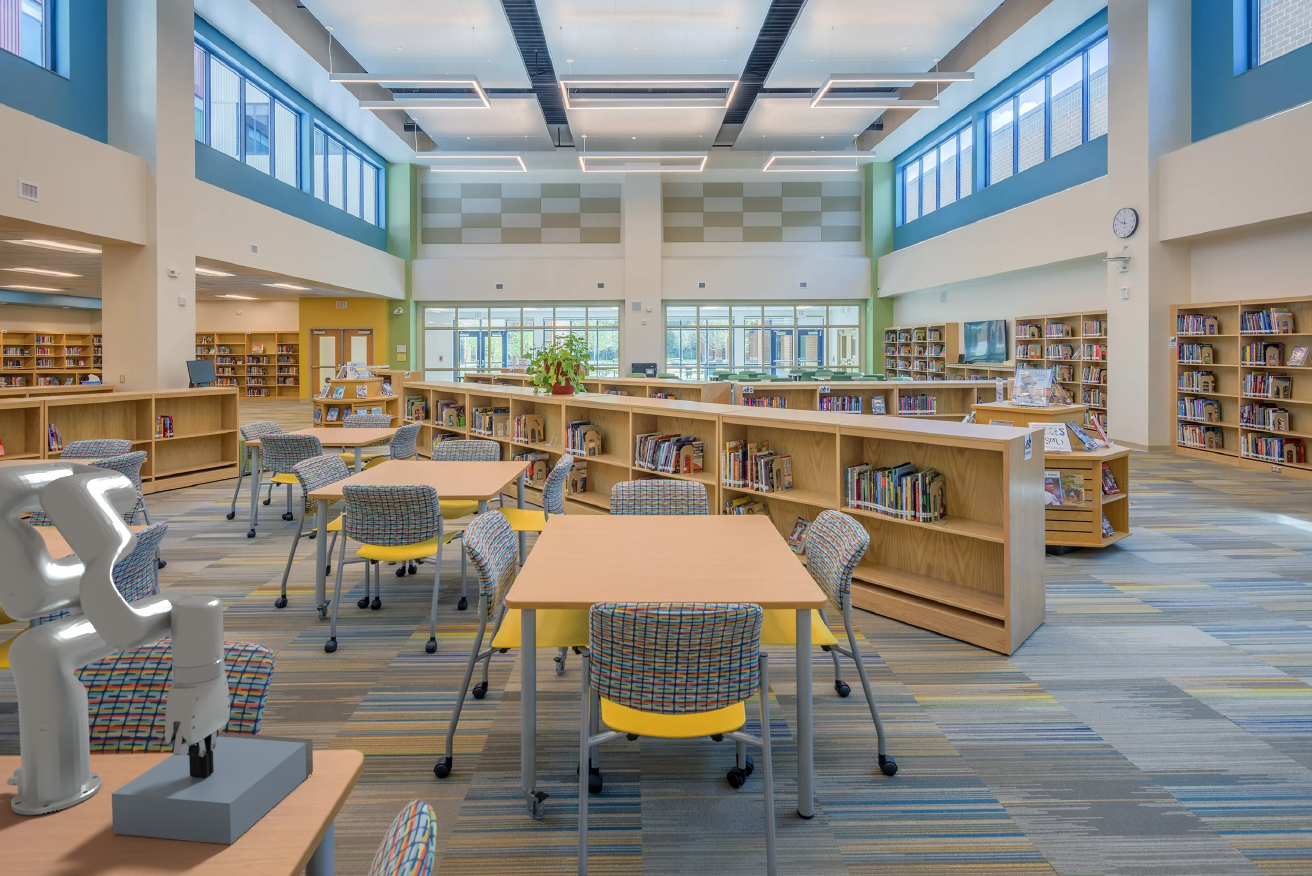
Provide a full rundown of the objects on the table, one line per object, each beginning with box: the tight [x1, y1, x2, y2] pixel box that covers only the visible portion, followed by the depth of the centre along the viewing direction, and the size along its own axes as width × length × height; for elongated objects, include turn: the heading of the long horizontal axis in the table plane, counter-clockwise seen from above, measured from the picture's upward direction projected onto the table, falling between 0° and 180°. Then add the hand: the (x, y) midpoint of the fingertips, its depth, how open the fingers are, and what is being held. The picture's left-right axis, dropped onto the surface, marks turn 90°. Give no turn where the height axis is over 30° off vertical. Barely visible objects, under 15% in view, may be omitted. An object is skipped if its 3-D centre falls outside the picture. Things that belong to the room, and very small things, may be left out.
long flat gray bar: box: [218, 732, 314, 777], centre depth 140 cm, size 21×2×7 cm, turn 83°
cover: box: [111, 736, 307, 845], centre depth 129 cm, size 21×20×7 cm
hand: (201, 774), depth 125 cm, fingers closed
